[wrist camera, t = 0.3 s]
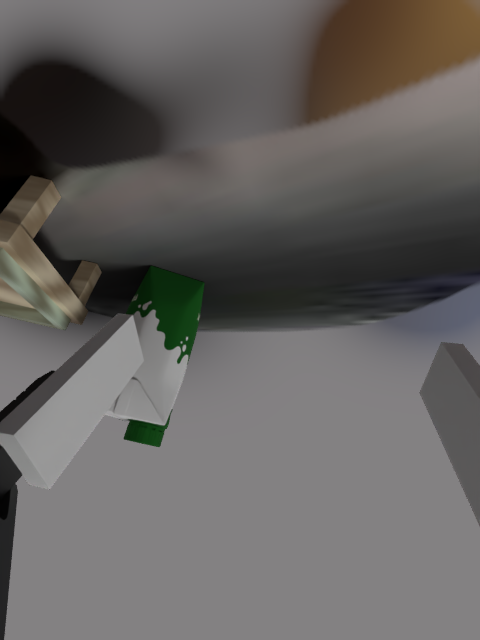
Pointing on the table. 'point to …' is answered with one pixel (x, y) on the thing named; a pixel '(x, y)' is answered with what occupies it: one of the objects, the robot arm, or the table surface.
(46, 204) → the stool
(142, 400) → the milk carton
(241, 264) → the table surface
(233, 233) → the table surface
